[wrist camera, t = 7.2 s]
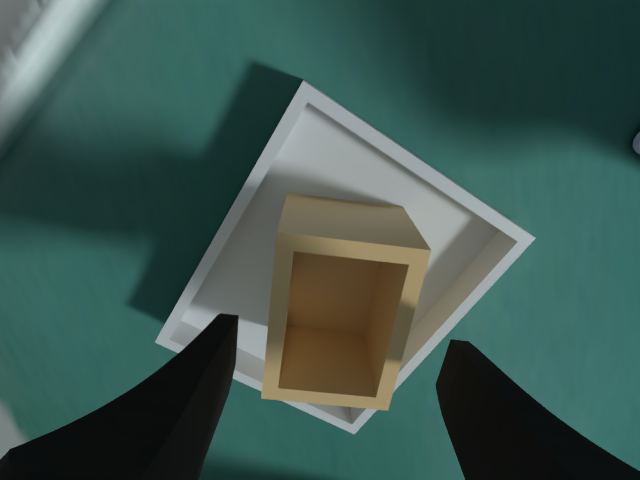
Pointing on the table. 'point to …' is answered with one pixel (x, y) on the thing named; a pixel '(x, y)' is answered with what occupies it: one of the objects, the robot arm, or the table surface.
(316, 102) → the white tray
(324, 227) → the tan crate
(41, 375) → the table surface
